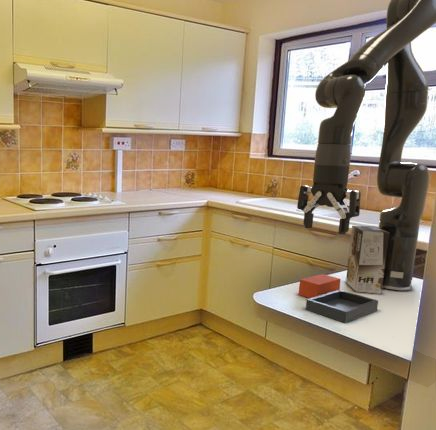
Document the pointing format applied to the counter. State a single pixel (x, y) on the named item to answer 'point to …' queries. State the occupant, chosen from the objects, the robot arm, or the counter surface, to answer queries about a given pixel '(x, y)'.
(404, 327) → the counter surface
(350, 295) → the tray
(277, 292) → the counter surface
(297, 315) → the counter surface
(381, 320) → the counter surface
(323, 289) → the orange-red rectangular block
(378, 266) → the coffee box
